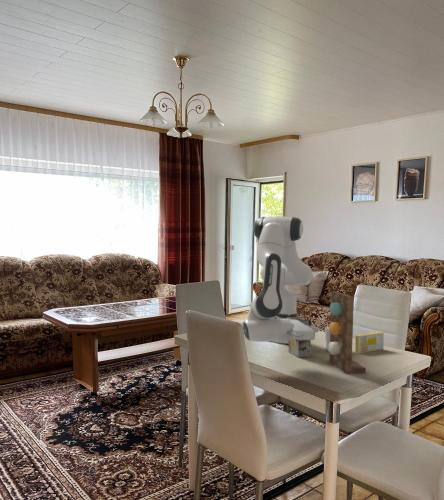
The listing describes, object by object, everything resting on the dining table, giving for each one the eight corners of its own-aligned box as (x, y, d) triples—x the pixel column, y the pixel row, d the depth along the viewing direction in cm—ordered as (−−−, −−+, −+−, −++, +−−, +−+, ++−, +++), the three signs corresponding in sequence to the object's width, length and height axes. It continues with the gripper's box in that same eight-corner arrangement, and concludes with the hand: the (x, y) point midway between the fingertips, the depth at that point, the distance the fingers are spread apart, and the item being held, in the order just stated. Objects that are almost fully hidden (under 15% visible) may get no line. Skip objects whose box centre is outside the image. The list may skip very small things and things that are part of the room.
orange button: (329, 333, 176) (329, 321, 176) (337, 333, 177) (337, 321, 177) (334, 336, 172) (334, 323, 171) (342, 336, 172) (342, 323, 172)
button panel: (329, 361, 183) (331, 291, 182) (346, 360, 184) (349, 291, 183) (346, 373, 167) (349, 297, 166) (365, 373, 169) (368, 297, 167)
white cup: (323, 350, 200) (324, 329, 200) (325, 346, 208) (326, 325, 207) (341, 352, 197) (341, 330, 197) (342, 348, 205) (343, 327, 204)
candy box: (380, 348, 205) (380, 331, 205) (383, 350, 203) (384, 332, 203) (354, 352, 198) (355, 334, 198) (358, 353, 196) (358, 335, 196)
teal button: (329, 313, 176) (330, 301, 176) (337, 313, 177) (338, 301, 176) (334, 316, 171) (335, 303, 171) (343, 316, 172) (343, 303, 172)
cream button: (328, 352, 177) (328, 340, 177) (336, 352, 177) (336, 340, 177) (333, 356, 172) (334, 343, 172) (341, 355, 173) (342, 343, 172)
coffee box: (310, 356, 190) (312, 320, 189) (298, 357, 188) (299, 321, 187) (300, 350, 199) (301, 316, 198) (287, 351, 196) (288, 317, 196)
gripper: (292, 327, 160) (328, 327, 163) (276, 316, 180) (308, 316, 183) (292, 344, 160) (327, 343, 163) (276, 331, 181) (307, 331, 183)
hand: (317, 329), depth 173 cm, fingers closed
